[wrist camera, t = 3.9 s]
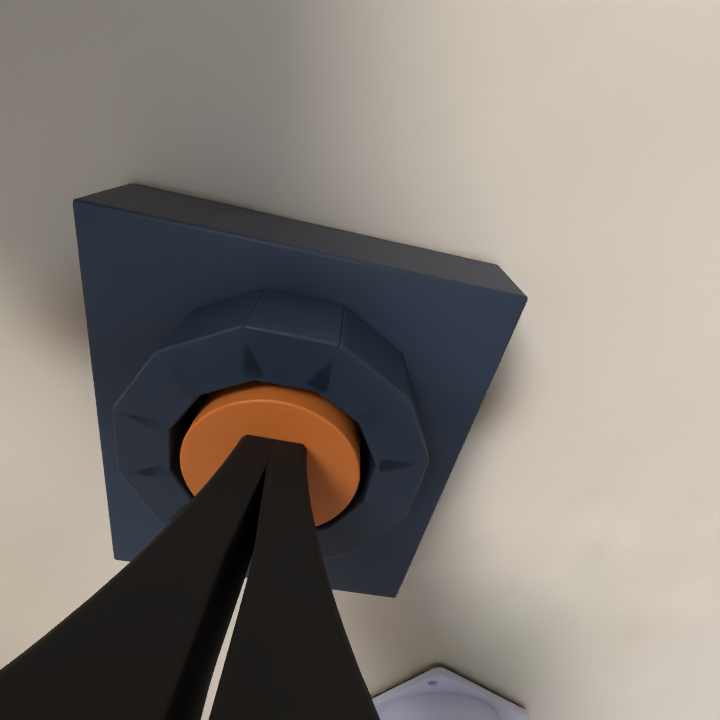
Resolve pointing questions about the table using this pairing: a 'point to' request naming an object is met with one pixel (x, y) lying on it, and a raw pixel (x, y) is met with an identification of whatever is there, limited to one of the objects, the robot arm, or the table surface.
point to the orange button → (282, 422)
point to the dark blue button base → (284, 357)
